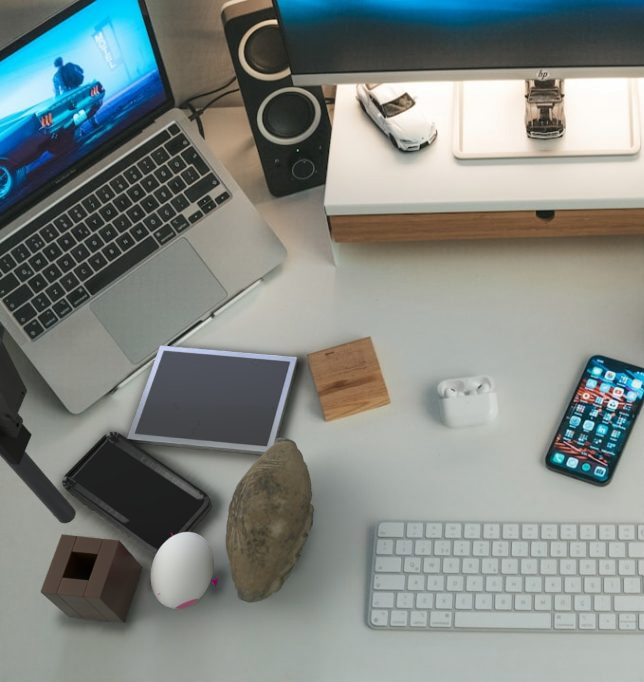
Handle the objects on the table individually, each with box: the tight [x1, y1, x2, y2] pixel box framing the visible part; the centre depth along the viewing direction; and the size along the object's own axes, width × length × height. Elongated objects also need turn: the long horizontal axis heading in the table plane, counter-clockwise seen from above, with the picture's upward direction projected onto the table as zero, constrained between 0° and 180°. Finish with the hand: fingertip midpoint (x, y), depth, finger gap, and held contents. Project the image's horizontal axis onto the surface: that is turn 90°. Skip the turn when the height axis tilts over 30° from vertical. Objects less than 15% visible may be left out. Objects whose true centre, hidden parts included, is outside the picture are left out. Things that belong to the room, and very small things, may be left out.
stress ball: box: [150, 531, 218, 610], centre depth 106 cm, size 8×8×7 cm
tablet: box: [126, 345, 299, 456], centre depth 119 cm, size 16×12×1 cm
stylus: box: [0, 451, 77, 524], centre depth 88 cm, size 2×2×22 cm
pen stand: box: [39, 533, 143, 624], centre depth 105 cm, size 6×6×7 cm
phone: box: [61, 431, 213, 557], centre depth 113 cm, size 8×1×15 cm
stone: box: [225, 437, 315, 604], centre depth 107 cm, size 17×9×8 cm, turn 179°
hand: (7, 447), depth 86 cm, fingers closed on stylus, 1 cm apart
